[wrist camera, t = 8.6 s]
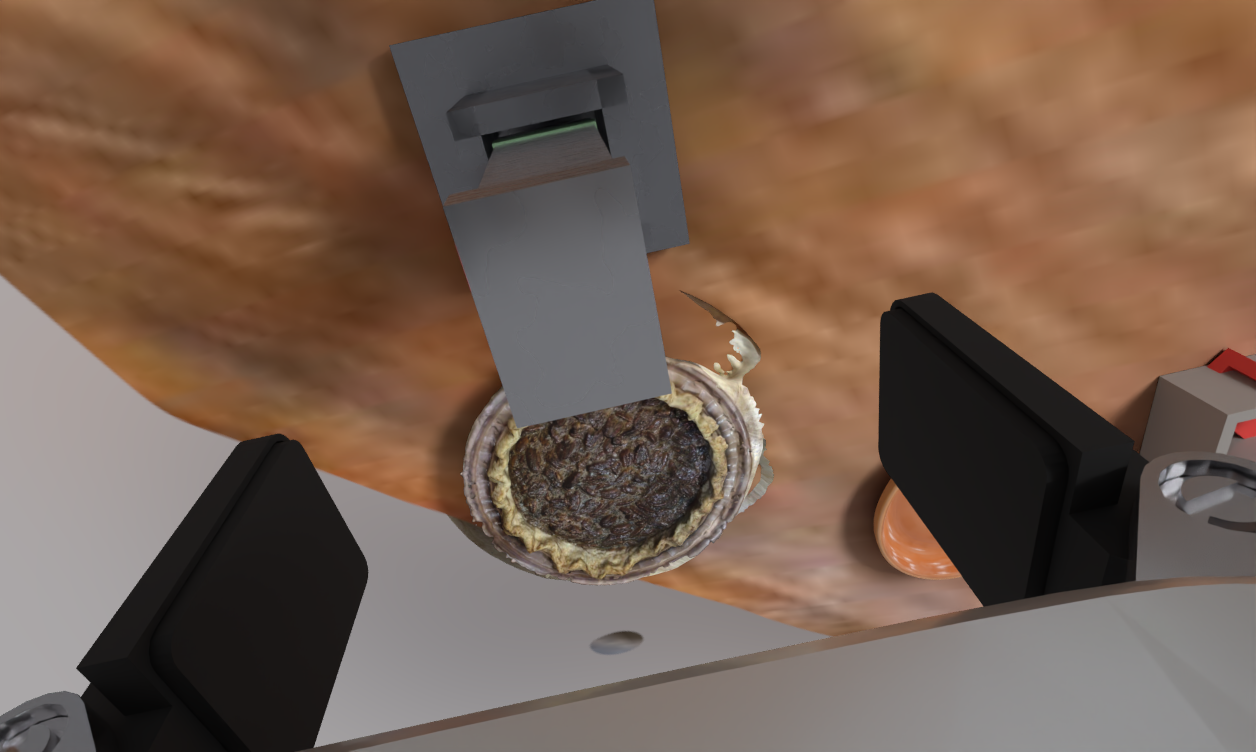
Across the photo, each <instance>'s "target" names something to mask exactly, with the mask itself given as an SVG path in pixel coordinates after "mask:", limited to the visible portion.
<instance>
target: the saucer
mask: <svg viewBox="0 0 1256 752" xmlns="http://www.w3.org/2000/svg"><path fill="white" fill-rule="evenodd" d="M874 534H875V538H876V542H877V544H878V547H879V549H880V551H881V553H882V555H883V557H884V558H885V559H886V560H887V562H888V563H889V564H890V565H892V566H893V567H894V568H896V569H897V570H899V571H901V572H902V573H905V574H907V575H910V576H913V577H917V578H922V579H932V580H942V579H952V578H958V577H962V576H961V574H960V573H959V571H958V570H957V569H956V567H955V566H954V565H953V563H952V562H951V560H950V559H949V558H948V556H947V555H946V553H945V552H944V551H943V549H942V548H941V546H940V545H939V544H938V542H937V541H936V540H935V538H934V537H933V535H932V534H931V533H930V531H929V530H928V528H927V527H926V526H925V524H924V523H923V522H922V520H921V519H920V517H919V516H918V515H917V513H916V512H915V510H914V509H913V508H912V506H911V505H910V503H909V502H908V501H907V499H906V498H905V497H904V495H903V494H902V492H901V491H900V490H899V488H898V487H897V485H896V484H895V483H894V481H893V480H892V479H890V481H889V482H888V484H887V485H886V487H885V489H884V491H883V493H882V495H881V497H880V499H879V501H878V504H877V507H876V510H875V515H874Z"/></svg>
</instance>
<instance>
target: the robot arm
mask: <svg viewBox="0 0 1256 752" xmlns="http://www.w3.org/2000/svg"><path fill="white" fill-rule="evenodd" d="M1134 442H1135V441H1133V440H1132V439H1131V438H1129V437H1128V436H1127V435H1125V434H1124V433H1123V432H1121V431H1120V430H1119V429H1117V428H1116V427H1115V426H1113V425H1112V424H1111V423H1109V422H1108V421H1106V420H1105V419H1104V418H1102V417H1101V416H1100V415H1098V414H1097V413H1096V412H1094V411H1093V410H1092V409H1090V408H1089V407H1088V406H1086V405H1085V404H1084V403H1082V402H1081V401H1080V400H1078V399H1077V398H1076V397H1074V396H1073V395H1072V394H1070V393H1069V392H1068V391H1066V390H1065V389H1063V388H1062V387H1061V386H1059V385H1058V384H1057V383H1055V382H1054V381H1053V380H1051V379H1050V378H1049V377H1047V376H1046V375H1045V374H1043V373H1042V372H1041V371H1039V370H1038V369H1037V368H1035V367H1034V366H1033V365H1031V364H1030V363H1029V362H1027V361H1026V360H1024V359H1023V358H1022V357H1020V356H1019V355H1018V354H1016V353H1015V352H1014V351H1012V350H1011V349H1010V348H1008V347H1007V346H1006V345H1004V344H1003V343H1002V342H1000V341H999V340H998V339H996V338H995V337H994V336H992V335H991V334H990V333H988V332H987V331H986V330H984V329H983V328H981V327H980V326H979V325H977V324H976V323H975V322H973V321H972V320H971V319H969V318H968V317H967V316H965V315H964V314H963V313H961V312H960V311H959V310H957V309H956V308H955V307H953V306H952V305H951V304H949V303H948V302H947V301H945V300H944V299H943V298H941V297H940V296H938V295H937V294H935V293H927V294H922V295H918V296H913V297H908V298H904V299H899V300H895V301H894V302H893V303H892V306H891V308H890V311H887V312H884V313H883V314H882V316H881V322H880V379H879V442H878V447H879V455H880V459H881V462H882V464H883V467H884V468H885V470H886V472H887V473H888V474H889V476H890V477H891V479H892V480H893V481H894V483H895V484H896V485H897V487H898V488H899V490H900V491H901V492H902V494H903V495H904V497H905V498H906V499H907V501H908V502H909V503H910V505H911V506H912V508H913V509H914V510H915V512H916V513H917V515H918V516H919V517H920V519H921V520H922V522H923V523H924V524H925V526H926V527H927V528H928V530H929V531H930V533H931V534H932V535H933V537H934V538H935V540H936V541H937V542H938V544H939V545H940V546H941V548H942V549H943V551H944V552H945V553H946V555H947V556H948V558H949V559H950V560H951V562H952V563H953V565H954V566H955V567H956V569H957V570H958V571H959V573H960V574H961V576H962V577H963V578H964V580H965V581H966V583H967V584H968V585H969V587H970V588H971V589H972V591H973V592H974V594H975V595H976V596H977V598H978V599H979V601H980V602H981V603H982V605H983V606H984V607H980V608H974V609H969V610H964V611H959V612H953V613H948V614H943V615H938V616H932V617H927V618H922V619H917V620H912V621H908V622H903V623H898V624H893V625H888V626H883V627H879V628H874V629H869V630H864V631H859V632H855V633H850V634H845V635H840V636H835V637H830V638H826V639H821V640H816V641H811V642H806V643H802V644H797V645H792V646H787V647H782V648H778V649H773V650H768V651H763V652H758V653H754V654H748V655H744V656H739V657H734V658H729V659H724V660H720V661H715V662H710V663H705V664H701V665H696V666H691V667H686V668H682V669H677V670H672V671H668V672H663V673H658V674H653V675H649V676H644V677H639V678H635V679H630V680H626V681H621V682H616V683H612V684H606V685H602V686H597V687H593V688H588V689H583V690H578V691H574V692H569V693H564V694H560V695H555V696H550V697H546V698H541V699H536V700H531V701H527V702H522V703H517V704H513V705H509V706H503V707H499V708H494V709H490V710H485V711H480V712H475V713H471V714H467V715H462V716H457V717H453V718H448V719H443V720H439V721H434V722H430V723H426V724H421V725H416V726H411V727H407V728H402V729H398V730H393V731H389V732H384V733H379V734H375V735H370V736H366V737H361V738H357V739H352V740H347V741H343V742H339V743H334V744H329V745H325V746H321V747H316V748H314V745H315V742H316V738H317V735H318V732H319V729H320V726H321V723H322V720H323V717H324V714H325V711H326V708H327V704H328V701H329V698H330V695H331V692H332V689H333V686H334V683H335V680H336V676H337V674H338V670H339V667H340V664H341V661H342V658H343V655H344V652H345V649H346V646H347V643H348V640H349V636H350V633H351V630H352V627H353V624H354V620H355V618H356V615H357V612H358V608H359V605H360V602H361V599H362V596H363V593H364V590H365V587H366V584H367V579H368V566H367V562H366V559H365V557H364V555H363V553H362V551H361V550H360V548H359V546H358V544H357V543H356V541H355V539H354V537H353V535H352V534H351V532H350V530H349V529H348V526H347V525H346V523H345V521H344V519H343V518H342V516H341V514H340V512H339V511H338V509H337V507H336V505H335V503H334V501H333V500H332V498H331V496H330V494H329V493H328V491H327V489H326V487H325V485H324V484H323V482H322V480H321V479H320V477H319V475H318V473H317V471H316V469H315V468H314V466H313V464H312V462H311V461H310V459H309V457H308V455H307V453H306V452H305V450H304V448H303V447H302V445H301V444H300V443H299V442H298V441H296V440H289V439H288V438H287V437H286V436H284V435H282V434H274V435H270V436H265V437H261V438H256V439H251V440H247V441H243V442H240V443H239V444H238V445H237V446H236V447H235V449H234V450H233V452H232V453H231V455H230V456H229V457H228V459H227V460H226V461H225V463H224V464H223V465H222V467H221V468H220V470H219V471H218V472H217V474H216V475H215V477H214V478H213V479H212V481H211V482H210V483H209V485H208V486H207V488H206V489H205V490H204V492H203V493H202V494H201V496H200V497H199V499H198V500H197V501H196V503H195V504H194V506H193V507H192V508H191V510H190V511H189V513H188V514H187V515H186V517H185V518H184V520H183V521H182V522H181V524H180V525H179V526H178V528H177V529H176V531H175V532H174V533H173V535H172V536H171V538H170V539H169V540H168V542H167V543H166V544H165V546H164V547H163V549H162V550H161V551H160V553H159V554H158V556H157V557H156V558H155V560H154V561H153V562H152V564H151V565H150V567H149V568H148V569H147V571H146V572H145V573H144V575H143V576H142V578H141V579H140V580H139V582H138V583H137V585H136V586H135V587H134V589H133V590H132V592H131V593H130V594H129V596H128V597H127V599H126V600H125V601H124V603H123V604H122V605H121V607H120V608H119V609H118V611H117V612H116V614H115V615H114V616H113V618H112V619H111V621H110V622H109V623H108V625H107V626H106V628H105V629H104V630H103V632H102V633H101V634H100V636H99V637H98V639H97V640H96V641H95V643H94V644H93V646H92V647H91V648H90V650H89V651H88V652H87V654H86V655H85V657H84V658H83V659H82V661H81V662H80V664H79V665H78V666H77V668H76V669H77V670H78V671H79V672H80V673H82V674H83V675H84V676H85V677H86V678H87V679H88V680H89V681H90V682H91V683H90V685H89V686H88V688H87V689H86V691H85V692H84V694H83V695H82V696H81V697H80V696H79V695H78V694H75V693H71V692H67V691H63V692H55V693H48V694H45V695H42V696H40V697H37V698H35V699H32V700H29V701H26V702H25V703H23V704H21V705H19V706H17V707H16V708H14V709H12V710H10V711H8V712H6V713H5V714H3V715H1V716H0V752H1256V462H1253V461H1251V460H1247V459H1243V458H1239V457H1235V456H1231V455H1226V454H1222V453H1212V452H1202V451H1188V452H1174V453H1170V454H1167V455H1163V456H1160V457H1156V458H1155V459H1154V460H1152V461H1151V462H1149V461H1147V460H1146V459H1145V458H1144V457H1142V456H1141V455H1140V454H1138V453H1137V452H1136V451H1134V450H1133V445H1134Z"/></svg>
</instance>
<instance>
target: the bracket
mask: <svg viewBox="0 0 1256 752" xmlns="http://www.w3.org/2000/svg"><path fill="white" fill-rule="evenodd" d="M1207 367H1208V368H1210V369H1212V370H1214V371H1216V372H1218V373H1224V372H1228V371H1232V370H1235V371H1237V372H1239V373H1241V374H1243V375H1245V376H1246V377H1248V378H1250V379H1252V380H1254V381H1256V362H1255V361H1253V360H1251V359H1249V358H1247V357H1245V356H1243V355H1241V354H1239V353H1237V352H1235V351H1233V350H1231V349H1229V348H1228V349H1226V350H1225V351H1224V352H1223V353H1222V354H1221V355H1220V356H1218V357H1217V358H1216V359H1215V360H1214V361H1213V362H1212V363H1210V364H1209V365H1208V366H1207ZM1234 433H1235V434H1237V435H1239V436H1240V437H1242V438H1244V439H1246V438H1250V437H1254V436H1256V419H1252V420H1248V421H1244V422H1239V423H1237V425H1236V428H1235V431H1234Z"/></svg>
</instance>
